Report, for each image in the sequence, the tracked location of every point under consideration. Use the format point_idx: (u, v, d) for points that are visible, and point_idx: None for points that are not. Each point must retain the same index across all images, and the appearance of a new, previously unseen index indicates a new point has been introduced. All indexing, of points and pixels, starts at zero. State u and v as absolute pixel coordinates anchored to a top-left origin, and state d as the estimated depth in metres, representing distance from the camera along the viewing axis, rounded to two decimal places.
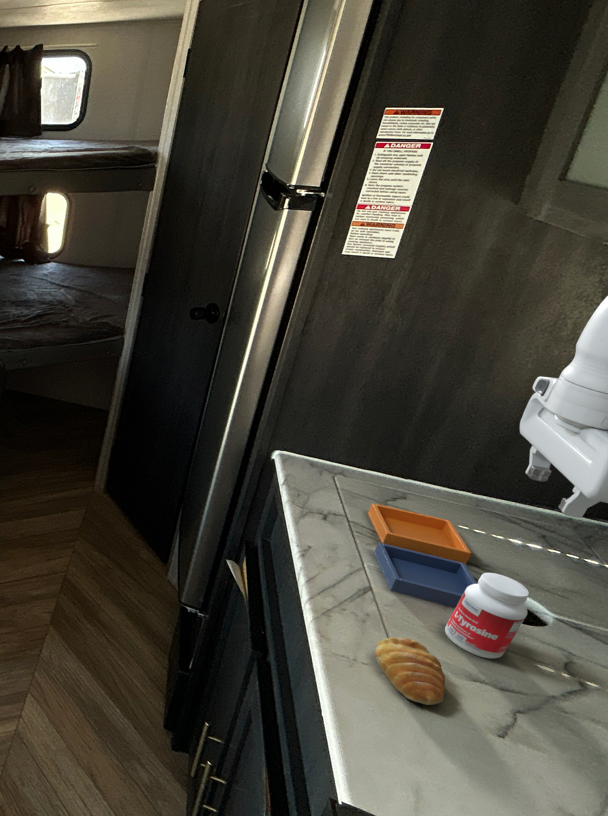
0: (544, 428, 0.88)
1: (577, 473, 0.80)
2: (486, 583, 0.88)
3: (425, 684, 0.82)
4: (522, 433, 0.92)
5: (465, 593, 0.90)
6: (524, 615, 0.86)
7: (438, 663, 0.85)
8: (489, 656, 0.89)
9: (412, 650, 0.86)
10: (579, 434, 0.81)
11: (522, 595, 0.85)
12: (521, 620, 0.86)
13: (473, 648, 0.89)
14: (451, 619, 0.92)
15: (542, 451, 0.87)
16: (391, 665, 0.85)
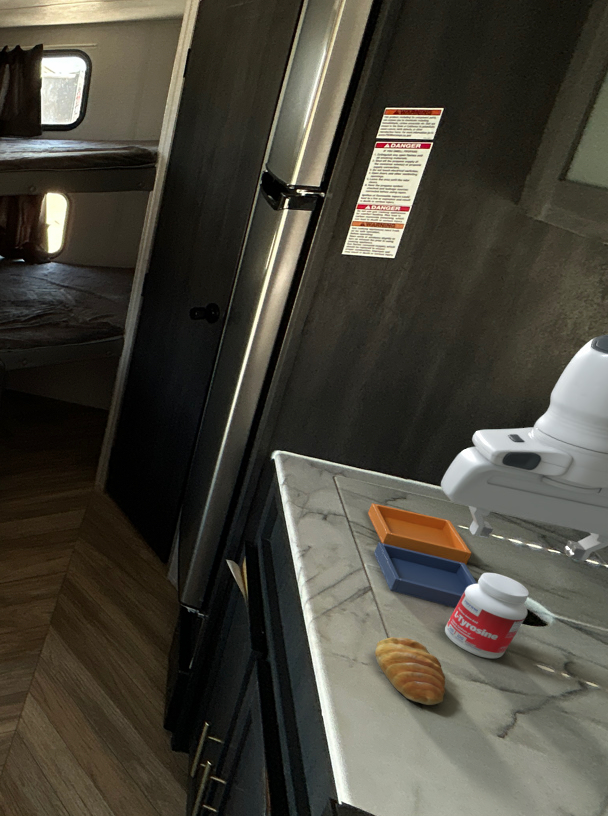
0: (514, 493, 0.82)
1: None
2: (486, 583, 0.88)
3: (425, 684, 0.82)
4: (464, 502, 0.85)
5: (465, 593, 0.90)
6: (524, 615, 0.86)
7: (438, 663, 0.85)
8: (489, 656, 0.89)
9: (412, 650, 0.86)
10: (598, 493, 0.78)
11: (522, 595, 0.85)
12: (521, 620, 0.86)
13: (473, 648, 0.89)
14: (451, 619, 0.92)
15: (525, 515, 0.82)
16: (391, 665, 0.85)
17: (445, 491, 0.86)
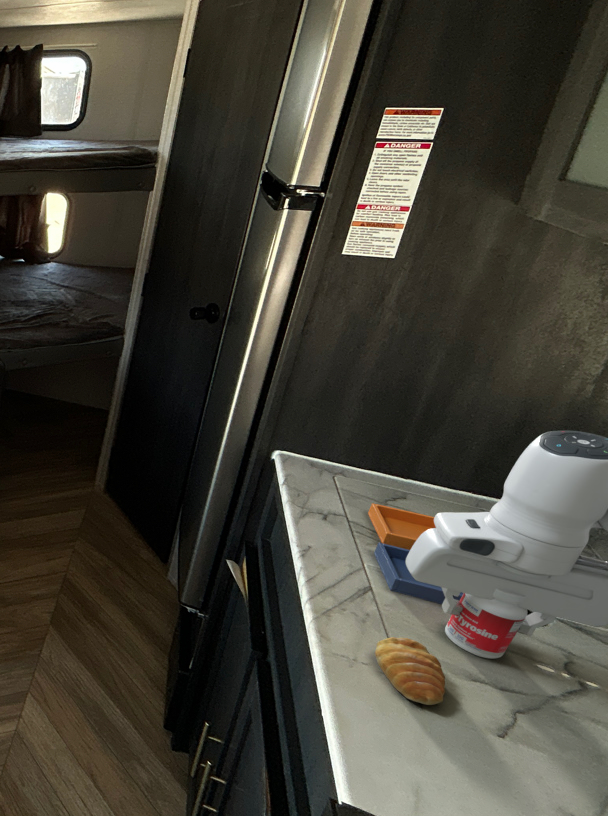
0: (472, 575, 0.87)
1: (569, 610, 0.84)
2: None
3: (425, 684, 0.82)
4: (427, 581, 0.90)
5: (465, 593, 0.90)
6: (524, 615, 0.86)
7: (438, 663, 0.85)
8: (489, 656, 0.89)
9: (412, 650, 0.86)
10: (549, 578, 0.83)
11: None
12: (521, 620, 0.86)
13: (473, 648, 0.89)
14: (451, 619, 0.92)
15: (483, 595, 0.88)
16: (391, 665, 0.85)
17: (409, 569, 0.92)
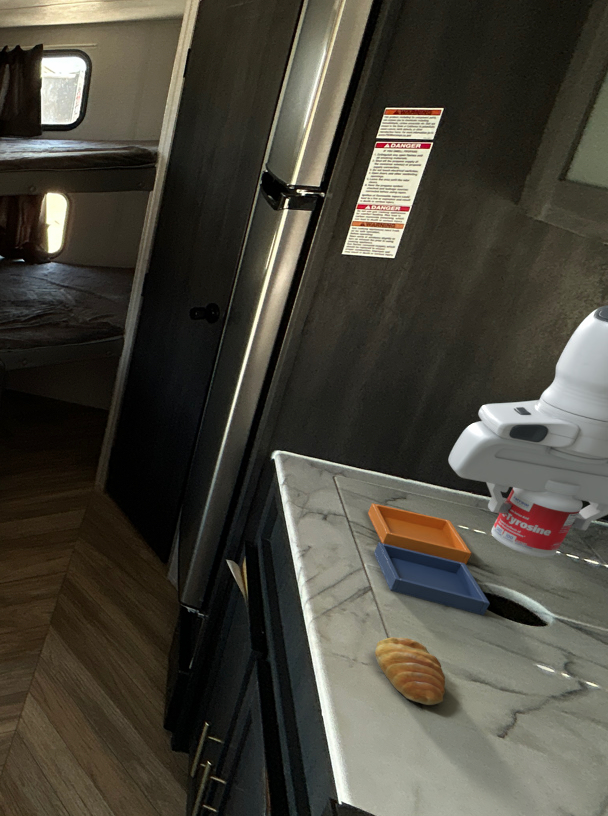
0: (522, 466, 0.82)
1: None
2: None
3: (425, 684, 0.82)
4: (473, 477, 0.85)
5: (514, 489, 0.85)
6: (579, 507, 0.81)
7: (438, 663, 0.85)
8: (541, 554, 0.83)
9: (412, 650, 0.86)
10: (607, 463, 0.78)
11: (577, 485, 0.80)
12: (576, 512, 0.81)
13: (524, 546, 0.84)
14: (498, 519, 0.87)
15: (534, 488, 0.82)
16: (391, 665, 0.85)
17: (453, 466, 0.86)
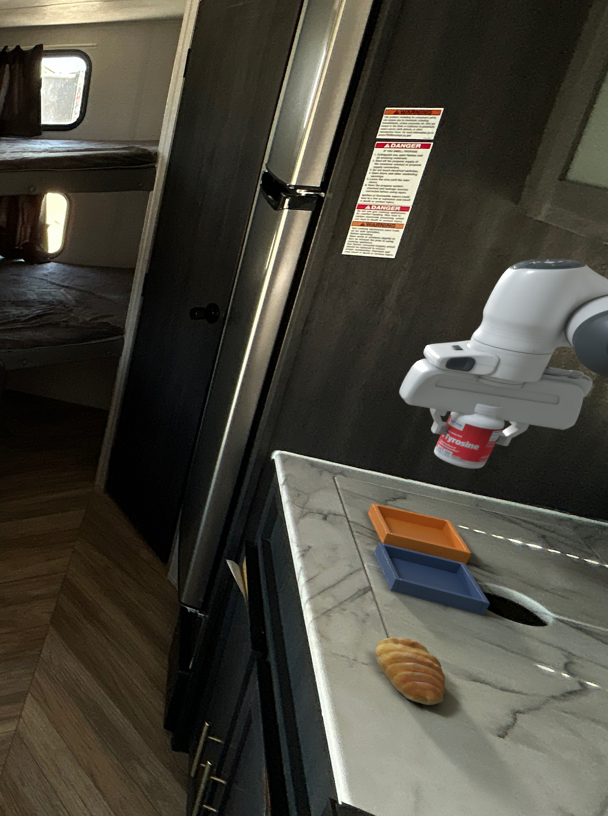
0: (456, 393, 1.01)
1: (539, 416, 0.97)
2: None
3: (425, 684, 0.82)
4: (418, 404, 1.04)
5: (451, 414, 1.04)
6: (501, 425, 0.99)
7: (438, 663, 0.85)
8: (472, 466, 1.02)
9: (412, 650, 0.86)
10: (522, 388, 0.97)
11: (499, 407, 0.99)
12: (499, 430, 1.00)
13: (458, 460, 1.03)
14: (439, 440, 1.06)
15: (466, 411, 1.01)
16: (391, 665, 0.85)
17: (402, 396, 1.05)
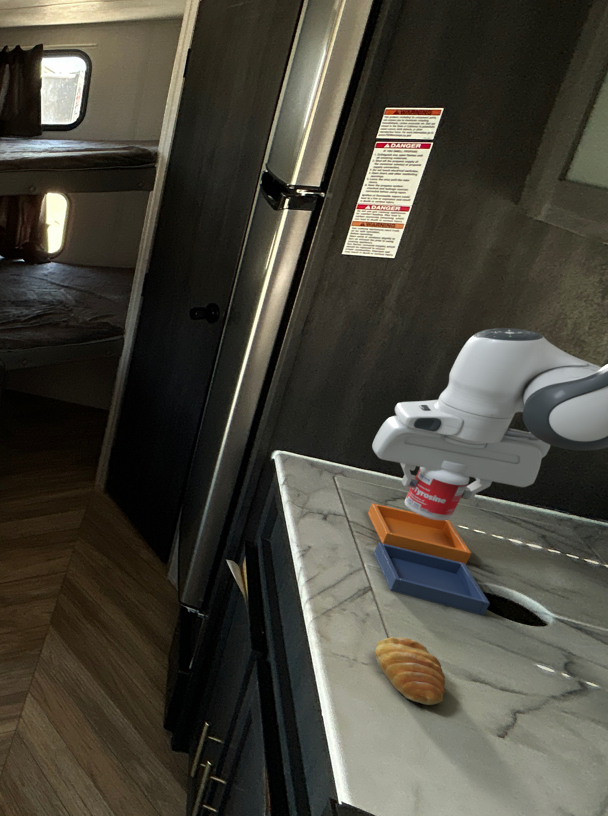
0: (424, 450, 1.07)
1: (501, 474, 1.03)
2: None
3: (425, 684, 0.82)
4: (388, 458, 1.10)
5: (420, 468, 1.10)
6: (466, 481, 1.05)
7: (438, 663, 0.85)
8: (439, 518, 1.08)
9: (412, 650, 0.86)
10: (485, 448, 1.03)
11: None
12: (464, 485, 1.06)
13: (426, 512, 1.09)
14: (409, 492, 1.12)
15: (433, 467, 1.07)
16: (391, 665, 0.85)
17: (374, 450, 1.11)
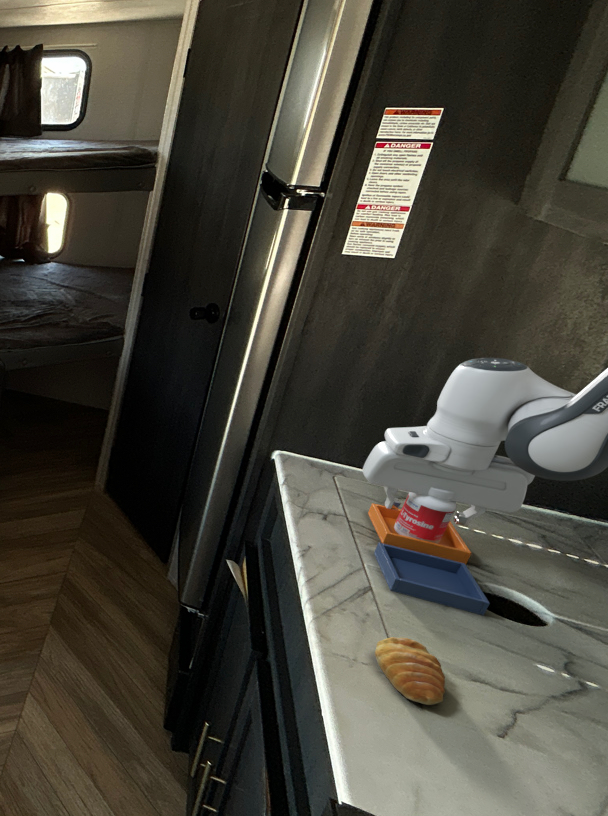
0: (413, 476, 1.09)
1: (488, 500, 1.05)
2: None
3: (425, 684, 0.82)
4: (378, 483, 1.12)
5: (409, 494, 1.12)
6: (453, 508, 1.08)
7: (438, 663, 0.85)
8: None
9: (412, 650, 0.86)
10: (472, 474, 1.05)
11: (451, 492, 1.07)
12: (451, 512, 1.08)
13: None
14: (398, 517, 1.14)
15: (422, 492, 1.09)
16: (391, 665, 0.85)
17: (365, 475, 1.13)
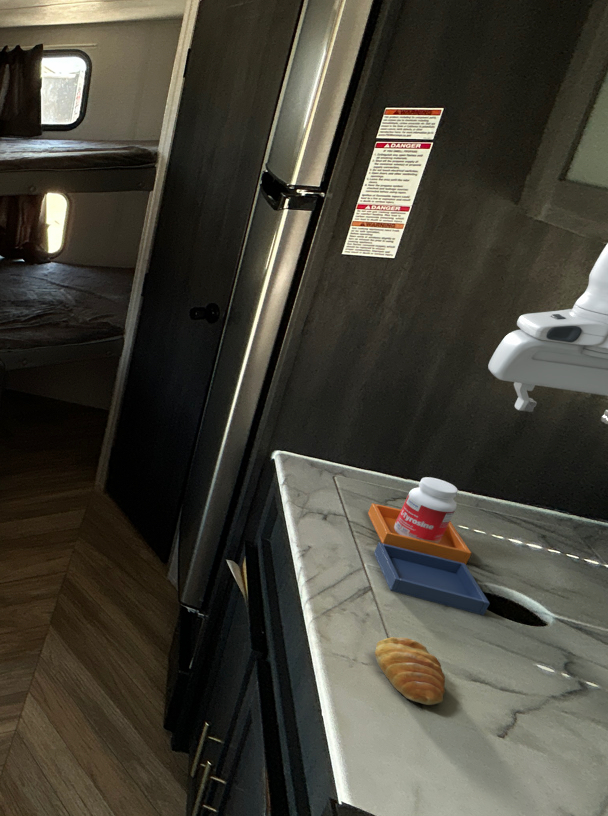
0: (556, 367, 0.92)
1: None
2: (424, 484, 1.09)
3: (425, 684, 0.82)
4: (511, 379, 0.95)
5: (409, 494, 1.12)
6: (454, 508, 1.08)
7: (438, 663, 0.85)
8: None
9: (412, 650, 0.86)
10: None
11: (452, 492, 1.07)
12: (451, 512, 1.08)
13: None
14: (398, 517, 1.14)
15: (567, 386, 0.92)
16: (391, 665, 0.85)
17: (493, 371, 0.96)
